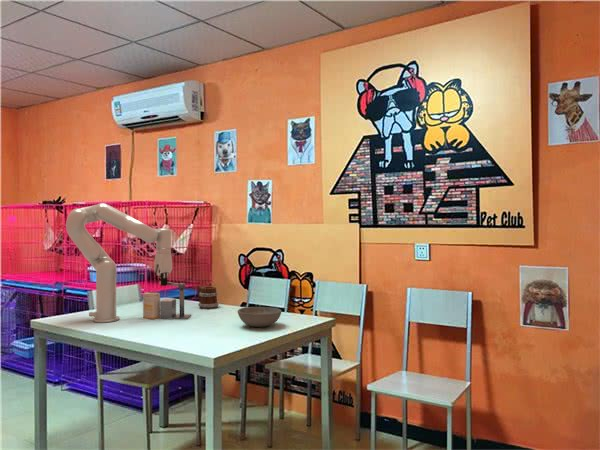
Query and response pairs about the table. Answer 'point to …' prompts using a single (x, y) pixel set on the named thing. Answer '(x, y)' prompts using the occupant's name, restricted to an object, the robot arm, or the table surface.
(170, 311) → the block
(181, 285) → the bar
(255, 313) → the bowl
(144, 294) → the supplement box
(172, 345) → the table surface
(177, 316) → the post
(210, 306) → the brown wooden barrel
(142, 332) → the table surface
